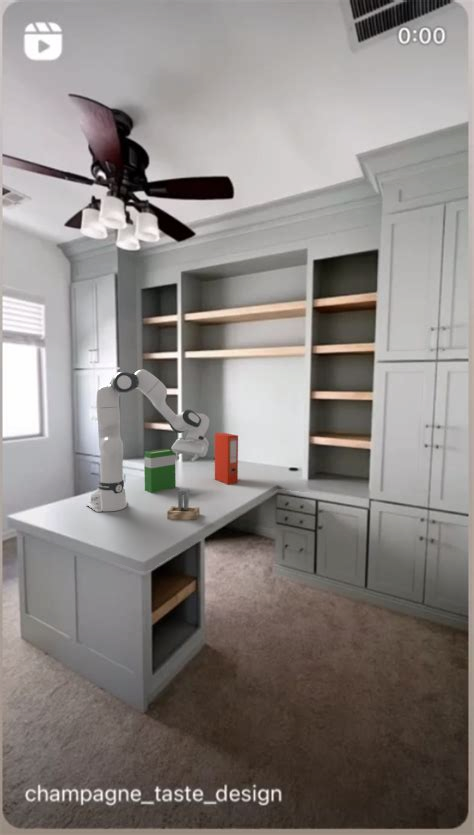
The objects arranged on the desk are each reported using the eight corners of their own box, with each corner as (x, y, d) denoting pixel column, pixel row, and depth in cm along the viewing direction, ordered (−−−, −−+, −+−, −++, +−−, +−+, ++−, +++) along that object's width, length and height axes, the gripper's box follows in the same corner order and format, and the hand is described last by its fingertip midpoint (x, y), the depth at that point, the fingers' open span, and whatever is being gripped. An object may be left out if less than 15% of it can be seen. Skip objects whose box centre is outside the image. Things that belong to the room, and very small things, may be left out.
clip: (178, 515, 180) (178, 491, 179) (180, 513, 183) (180, 489, 182) (186, 515, 179) (186, 491, 178) (188, 513, 183) (188, 489, 182)
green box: (168, 485, 240) (168, 448, 238) (175, 487, 235) (175, 450, 233) (144, 490, 228) (144, 451, 226) (151, 492, 223) (150, 453, 221)
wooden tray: (167, 518, 178) (167, 511, 178) (172, 513, 186) (171, 506, 186) (196, 519, 177) (196, 512, 176) (199, 514, 185) (199, 507, 184)
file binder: (224, 477, 261) (224, 432, 259) (237, 483, 246) (238, 435, 244) (214, 479, 257) (214, 433, 254) (227, 484, 242) (227, 436, 240)
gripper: (175, 434, 206) (165, 454, 198) (208, 438, 198) (198, 459, 191) (179, 440, 211) (169, 461, 203) (211, 445, 203) (202, 466, 195)
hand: (184, 460), depth 197 cm, fingers open, 8 cm apart
